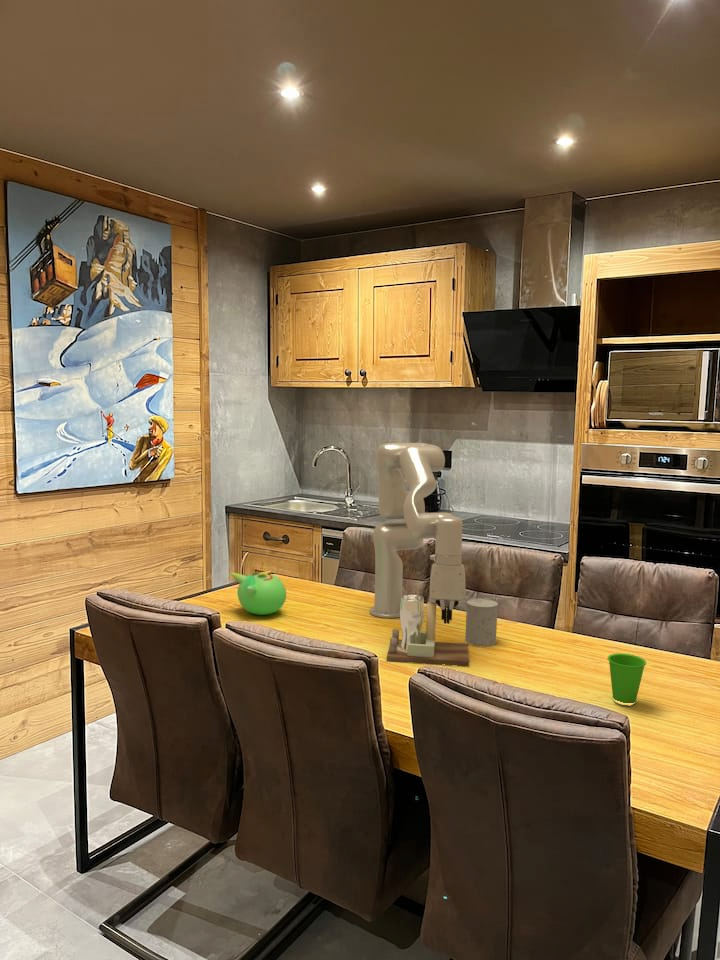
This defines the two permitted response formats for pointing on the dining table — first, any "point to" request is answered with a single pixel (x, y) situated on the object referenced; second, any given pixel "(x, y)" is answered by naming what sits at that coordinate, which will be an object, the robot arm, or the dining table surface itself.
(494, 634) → the grey stone cylinder
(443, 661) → the board
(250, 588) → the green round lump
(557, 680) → the dining table surface
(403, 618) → the beer glass
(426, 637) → the grey angular piece
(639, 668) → the cup
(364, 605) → the dining table surface
